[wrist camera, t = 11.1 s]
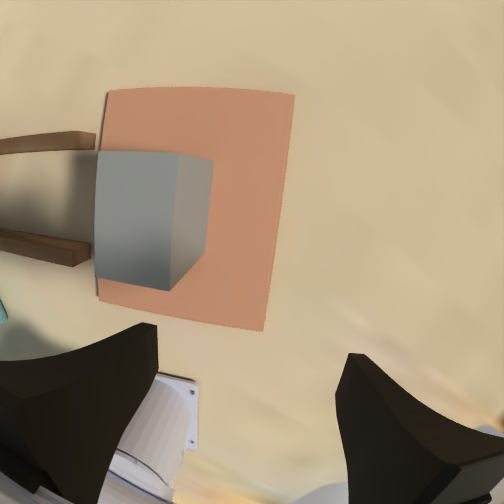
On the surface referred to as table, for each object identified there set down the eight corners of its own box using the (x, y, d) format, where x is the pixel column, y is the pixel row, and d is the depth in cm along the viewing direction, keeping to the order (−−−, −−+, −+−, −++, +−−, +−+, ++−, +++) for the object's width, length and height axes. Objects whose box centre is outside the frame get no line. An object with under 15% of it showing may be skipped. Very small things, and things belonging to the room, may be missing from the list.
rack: (90, 258, 22) (60, 273, 18) (-18, 235, 22) (-44, 244, 19) (96, 133, 19) (63, 129, 15) (-17, 145, 20) (-45, 146, 16)
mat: (263, 327, 22) (262, 331, 21) (102, 297, 22) (98, 300, 22) (294, 97, 18) (294, 94, 17) (113, 92, 18) (109, 90, 18)
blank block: (205, 252, 20) (169, 291, 13) (149, 244, 20) (95, 277, 13) (214, 160, 18) (179, 153, 12) (155, 156, 19) (98, 151, 12)
